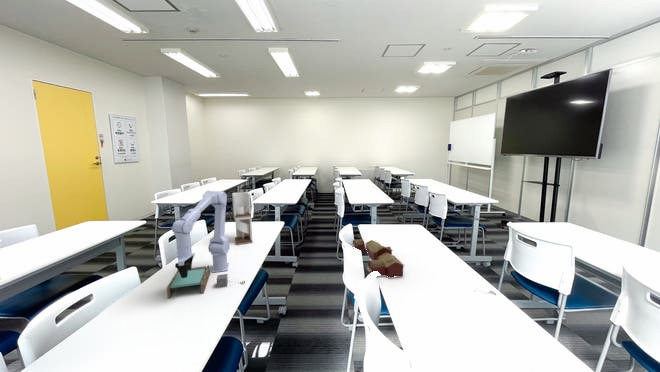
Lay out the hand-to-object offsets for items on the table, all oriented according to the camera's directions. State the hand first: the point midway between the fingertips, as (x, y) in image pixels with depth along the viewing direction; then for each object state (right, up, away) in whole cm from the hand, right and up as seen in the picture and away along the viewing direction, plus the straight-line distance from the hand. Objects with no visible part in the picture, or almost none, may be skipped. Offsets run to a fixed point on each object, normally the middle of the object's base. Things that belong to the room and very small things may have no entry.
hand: (186, 273), depth 122 cm
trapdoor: (-1, -5, +6) cm, 8 cm away
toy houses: (+93, -4, +36) cm, 100 cm away
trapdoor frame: (-2, -8, +7) cm, 11 cm away
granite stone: (+14, -8, +7) cm, 18 cm away
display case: (+5, +1, +66) cm, 66 cm away
